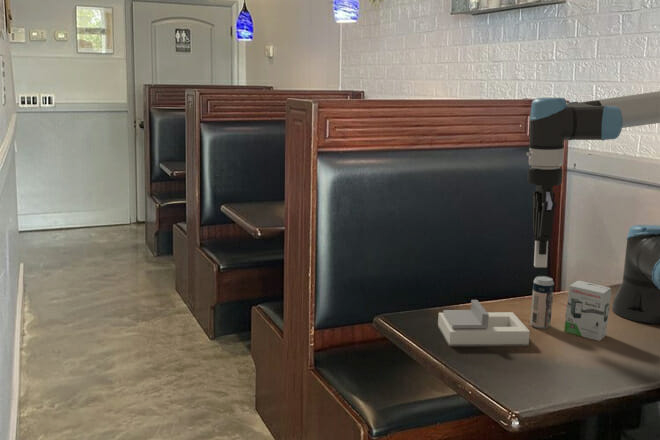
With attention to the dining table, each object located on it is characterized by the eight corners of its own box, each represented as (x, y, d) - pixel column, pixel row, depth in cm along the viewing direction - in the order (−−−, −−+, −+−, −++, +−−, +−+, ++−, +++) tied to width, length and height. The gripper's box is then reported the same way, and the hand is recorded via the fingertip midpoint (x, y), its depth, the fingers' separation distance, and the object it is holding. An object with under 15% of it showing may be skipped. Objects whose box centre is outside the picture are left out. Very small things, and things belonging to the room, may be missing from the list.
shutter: (476, 313, 164) (477, 299, 163) (487, 328, 154) (488, 314, 154) (443, 313, 163) (443, 300, 163) (452, 328, 154) (453, 314, 153)
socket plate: (511, 325, 166) (512, 312, 166) (528, 345, 155) (529, 331, 154) (437, 326, 165) (438, 312, 164) (449, 346, 154) (450, 331, 153)
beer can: (551, 330, 164) (555, 282, 161) (530, 328, 165) (534, 280, 162) (549, 323, 169) (553, 276, 166) (529, 321, 169) (533, 274, 167)
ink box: (562, 331, 163) (567, 284, 161) (570, 326, 167) (575, 279, 164) (599, 341, 158) (605, 292, 155) (607, 335, 162) (612, 287, 159)
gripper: (522, 162, 163) (518, 258, 168) (534, 171, 150) (529, 274, 156) (555, 162, 162) (550, 258, 168) (569, 170, 150) (563, 274, 155)
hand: (540, 266), depth 162 cm, fingers closed
